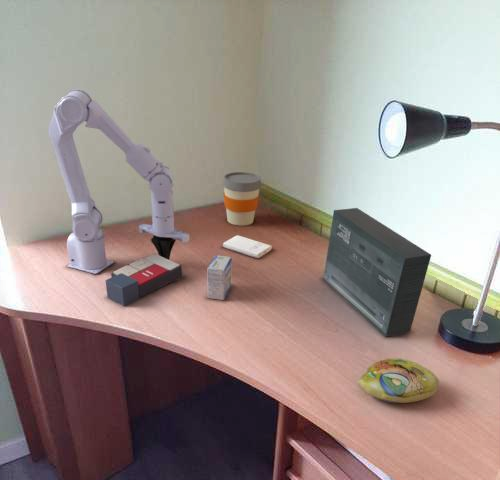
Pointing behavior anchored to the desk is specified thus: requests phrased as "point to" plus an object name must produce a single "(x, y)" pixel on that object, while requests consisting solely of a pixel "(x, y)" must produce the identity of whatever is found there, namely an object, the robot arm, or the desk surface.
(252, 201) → the reusable coffee cup
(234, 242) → the hard drive
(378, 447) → the desk surface
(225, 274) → the medicine box
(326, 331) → the desk surface
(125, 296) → the block
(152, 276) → the calculator
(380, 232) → the cassette player
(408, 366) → the cell model
